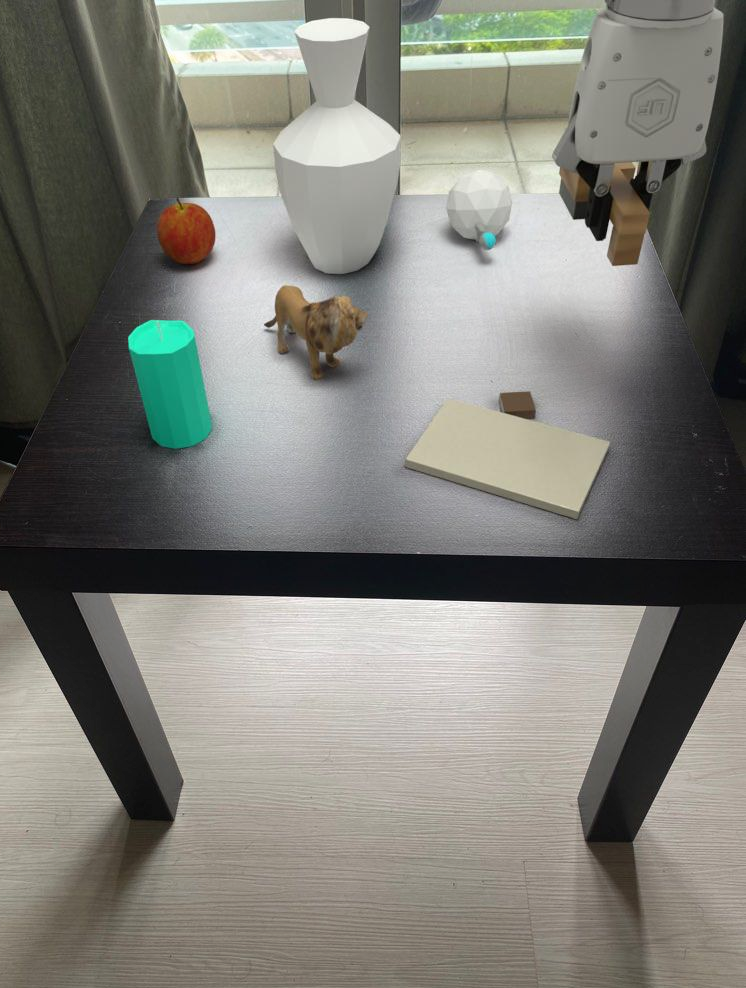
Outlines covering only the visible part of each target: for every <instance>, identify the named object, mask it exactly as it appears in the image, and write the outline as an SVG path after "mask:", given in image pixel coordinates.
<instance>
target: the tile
mask: <svg viewBox="0 0 746 988" xmlns="http://www.w3.org/2000/svg"><path fill="white" fill-rule="evenodd" d="M610 448H611V441H609V440H605V439H602V438H598V437H594V436H590V435H586V434H582V433H579V432H575V431H572V430H568V429H564V428H561V427H557V426H553V425H550V424H547V423H542V422H539V421H534V420H531V419H529V418H527V419H524V418H520V417H517V416H513V415H509V414H506V413H502V411H497V410H494V409H489V408H486V407H483V406H479V405H475V404H473V403H468V402H466V401H461V400H457V399H454V398H450V397H447V398H446V400H445V401H444V402H443V404H442V405H441V407H440V408H439V410H438V411H437V412H436V414H435V416H434V417H433V418H432V419H431V421H430V423H429V424H428V426H427V427H426V429H425V430H424V431H423V433H422V434H421V436H420V437H419V439H418V440H417V442H416V443H415V444H414V446H413V448H412V449H411V451H410V452H409V453H408V455H407V456H406V457H405V459H404V460H405V463H404V464H405V465H404V467H405V468H408V469H411V470H414V471H418V472H421V473H424V474H427V475H430V476H434V477H437V478H439V479H443V480H447V481H450V482H454V483H456V484H460V485H463V486H466V487H468V488H469V487H470V488H473V489H475V490H480V491H481V492H486V493H489V494H493V495H496V496H499V497H502V498H505V499H508V500H512V501H515V502H519V503H522V504H525V505H528V506H531V507H534V508H539V509H542V510H545V511H548V512H551V513H554V514H558V515H561V516H565V517H568V518H570V519H574V520H578V518H579V516H580V515H581V512H582V510H583V507H584V505H585V503H586V501H587V499H588V497H589V494H590V493H591V490H592V488H593V486H594V483H595V481H596V479H597V477H598V475H599V473H600V470H601V468H602V466H603V464H604V462H605V459H606V457H607V454H608V452H609V450H610Z"/></svg>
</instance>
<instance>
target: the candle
mask: <svg viewBox="0 0 746 988" xmlns="http://www.w3.org/2000/svg"><path fill="white" fill-rule="evenodd" d="M127 341H128V350H129V355H130V357H131V362H132V366H133V369H134V372H135V377H136V381H137V385H138V388H139V393H140V396H141V397H140V398H141V400H142V405H143V408H144V412H145V416H146V420H147V423H148V427H149V431H150V436H151V438H152V440H153V441H155V442H156V443H157V444H158V445H159V446H160V447H164V448H169V449H175V450H177V449H184V448H191V447H193V446H196V445H197V444H199V443H202V442H203V441H204V440H206V439H207V438H208V436H209V435H210V433H211V432H212V431H213V426H212V425H213V424H212V418H211V414H210V407H209V404H208V398H207V392H206V387H205V382H204V381H205V380H204V377H203V371H202V366H201V361H200V355H199V350H198V346H197V340H196V335H195V331H194V329H193V328H192V327H191V326H190V325H189V324H187V322H185V321H184V320H166V319H165V320H163V319H150V320H148V321H146V322H144V323H142V324H140V325H139V326H137V327H135V329H134V330H133V331H132V332H131V333H130V334H129V336H128V337H127Z"/></svg>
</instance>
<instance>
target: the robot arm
mask: <svg viewBox="0 0 746 988" xmlns="http://www.w3.org/2000/svg"><path fill="white" fill-rule="evenodd" d="M603 1H604V2H605V4H606V6H605V7H601V8H599V9H598V10H597V11H596V14H595V17H594V19H593V22H592V24H591V28H590V30H589V34H588V36H587V41H586V43H585V47H584V49H583V53H582V56H581V60H580V63H579V67H578V70H577V71H578V72H577V76H576V79H575V84H574V89H573V93H572V98H571V103H570V108H569V114H568V120H567V127H566V128H565V130H564V131H563V133H562V135H561V137H560V139H559V141H558V143H557V145H556V146H555V148H554V150H553V151H552V154H551V157H552V159H553V162H554V163H555V165H556V166H557V167H559V168H560V167H561V168H564V169H566V170H568V171H571V172H575V173H577V174H579V175H580V176H581V178H582V179H583V180H584V181H585V182H586V183H587V184H588V186H589V187H590V191H589V196H588V202H587V207H586V213H585V219H584V224H585V226H586V228H587V229H589V231H590V232H591V234H592V236H593V237H594V239H595V241H596V242H603V241H604V240H606V239H607V235H608V230H609V225H610V219H609V216H610V211H611V206H612V201H613V196H612V194H611V193H610V189H611V186H610V184H611V179H612V175H613V170H614V166H615V163H629V162H632V163H638V165H637V170H636V175H634V179H631V181H630V182H629V183H630V184H631V186H632V187H633V189H634V190H635V192H636V193H637V195H638V196H639V198H640V199H641V201H642V202H643V204H644V205H645V206H646V208H647V209H648V211H649V212H650V207H651V204H652V203H651V202H652V198H653V194H656V193H658V191H659V190H660V189H661V186H662V183H664V182H665V181H666V180H667V179H669V177H670V176H671V175H673V174H674V173H675V172H676V171H677V170H679V168H680V167H681V166H685V165H687V164H689V163H692V162H694V161H696V160H698V159H700V158H702V157H704V156H705V155H706V153H707V149H708V148H707V143H706V136H707V132H708V128H709V124H710V119H711V115H712V110H713V104H714V100H715V94H716V89H717V84H718V77H719V71H720V63H721V55H722V47H723V46H722V45H723V35H724V16H725V15H724V13H723V12H722V11H720V10H719V9H717V8H716V7H715V5H716V0H603Z"/></svg>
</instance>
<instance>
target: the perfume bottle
mask: <svg viewBox="0 0 746 988" xmlns="http://www.w3.org/2000/svg"><path fill="white" fill-rule="evenodd" d="M510 191H511V190H510V185H509V184H508V183H507V182H505V180H504V179H502V178H501V177H500V176H499V175H498V174H497V173H496V172H492V171H488V170H483V169H480V168H479V169H476V170H473V171H470V172H467V173H465V174H462V175H460V176H459V178H458V179H457V180H456V182H454V184H453V185H452V186H451V188H450V189H449V190H448V195H447V200H446V206H445V210H446V213H447V217H448V222H449V224H450V227H452V228H453V229H454V230H455V231H456V232H457V233H458V234H459V235H460V236H461V237H462V238H464V239H467V240H468V239H469V240H473V241H475V242H476V243H479V246H480V248H482V249H483V250H485V251H491V250H492V249H493V248H495V245H496V242H497V237H496V236H497V235H498V234H499V233H500V232H501V231H502V229H503V228H504V227H505V226H506V225H507V223H508V222H509V221H510V218H511V213H512V205H513V200H512V195H511V192H510Z"/></svg>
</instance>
